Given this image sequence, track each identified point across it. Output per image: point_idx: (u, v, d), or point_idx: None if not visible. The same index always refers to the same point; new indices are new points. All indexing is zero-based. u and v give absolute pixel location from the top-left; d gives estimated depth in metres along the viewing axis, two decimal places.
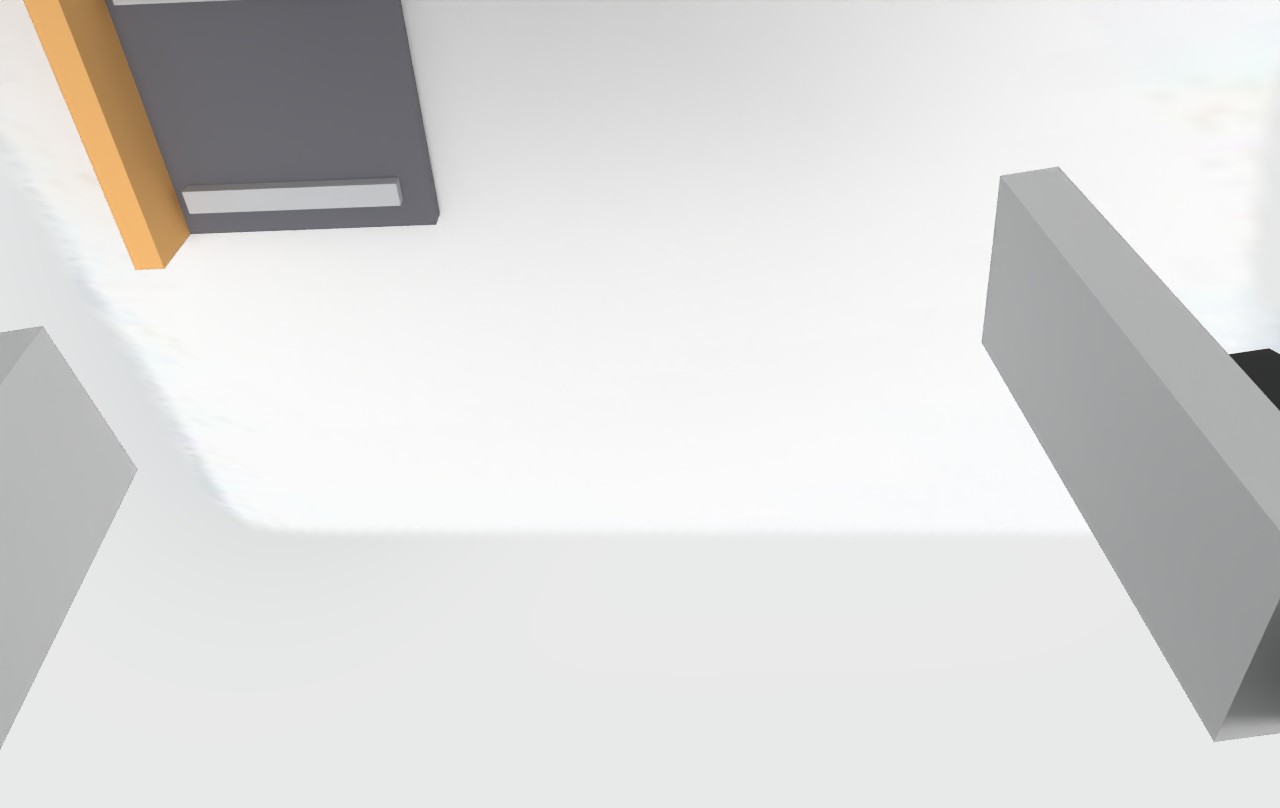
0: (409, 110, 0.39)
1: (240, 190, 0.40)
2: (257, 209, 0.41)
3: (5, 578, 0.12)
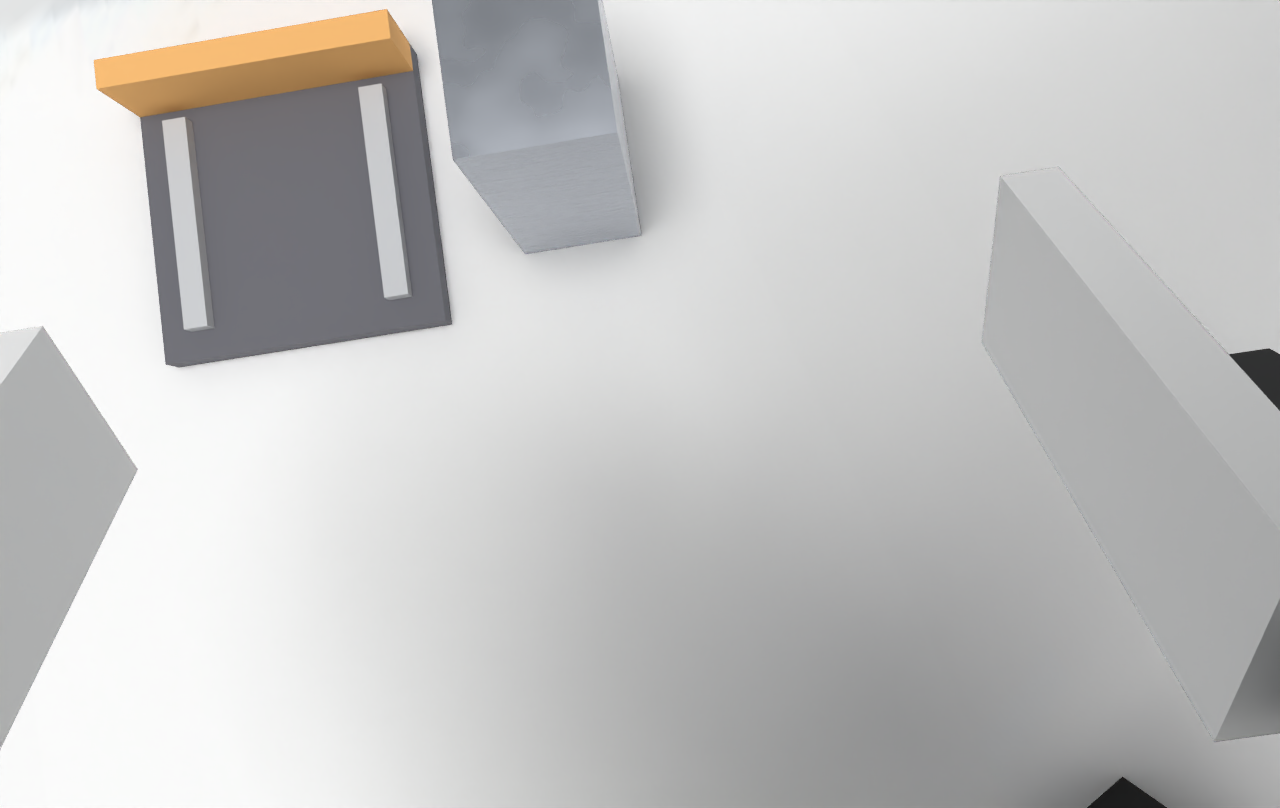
0: (283, 341, 0.40)
1: (190, 173, 0.40)
2: (171, 187, 0.40)
3: (5, 578, 0.12)
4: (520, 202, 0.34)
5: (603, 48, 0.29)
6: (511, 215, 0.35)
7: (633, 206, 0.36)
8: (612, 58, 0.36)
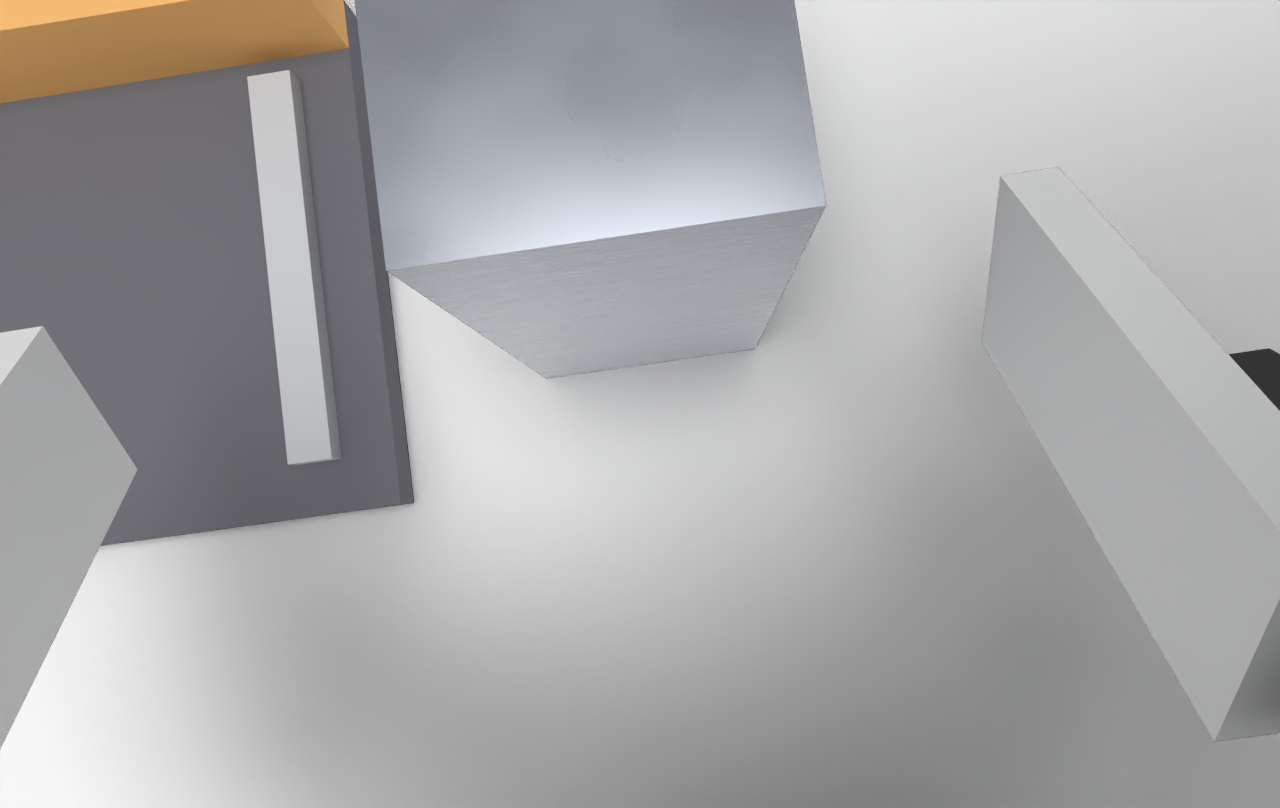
0: (106, 535, 0.22)
1: None
2: None
3: (5, 578, 0.12)
4: (548, 326, 0.16)
5: None
6: (527, 342, 0.17)
7: (767, 319, 0.18)
8: None
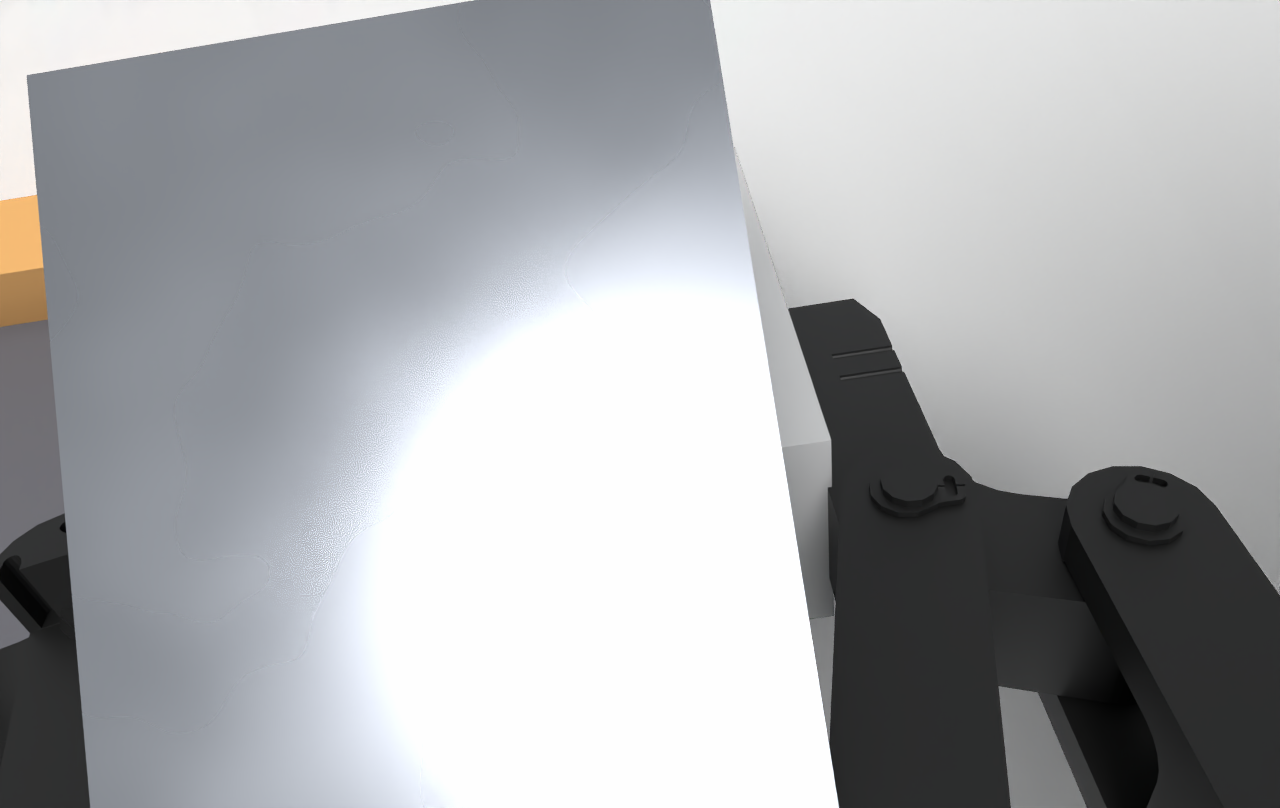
0: None
1: None
2: None
3: None
4: None
5: (796, 579, 0.06)
6: None
7: None
8: None
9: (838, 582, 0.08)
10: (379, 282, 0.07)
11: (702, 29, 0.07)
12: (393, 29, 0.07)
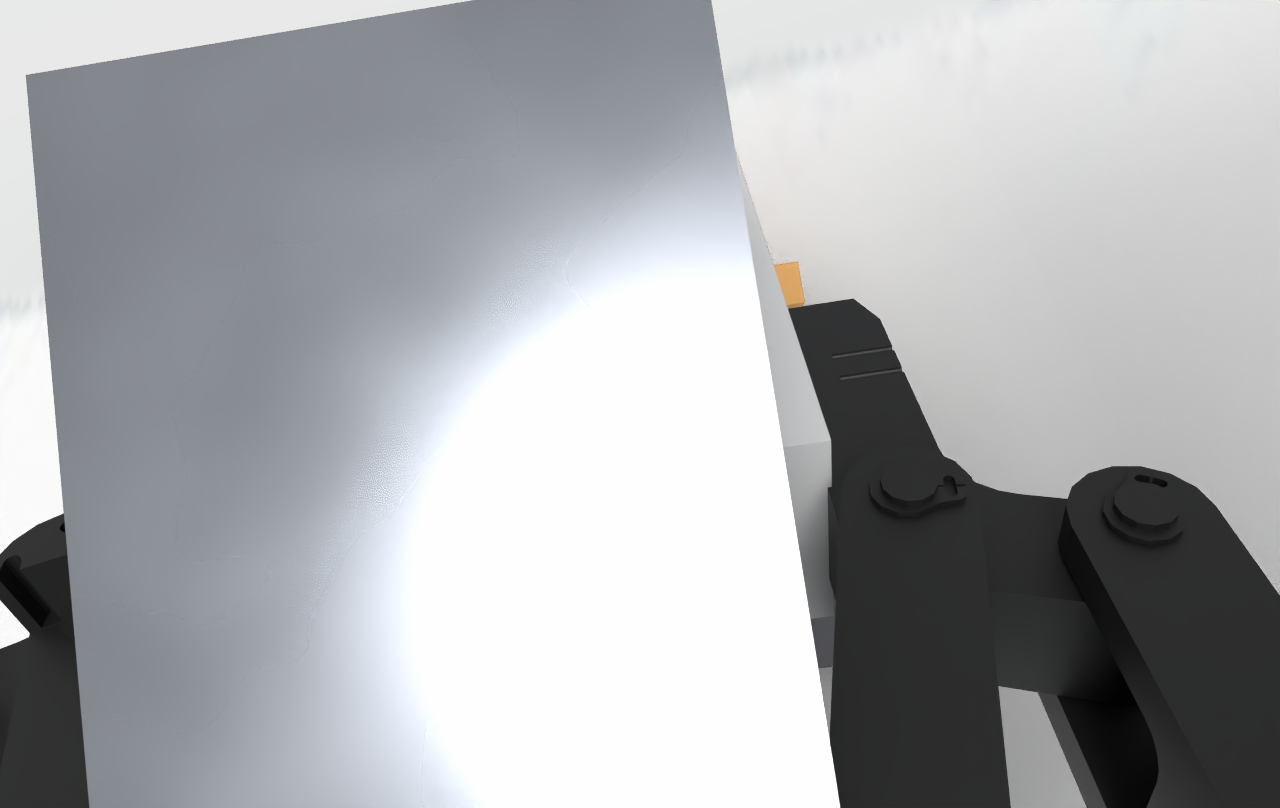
0: None
1: None
2: None
3: None
4: None
5: (797, 580, 0.06)
6: None
7: None
8: None
9: (838, 582, 0.08)
10: (378, 283, 0.07)
11: (704, 29, 0.07)
12: (394, 29, 0.07)
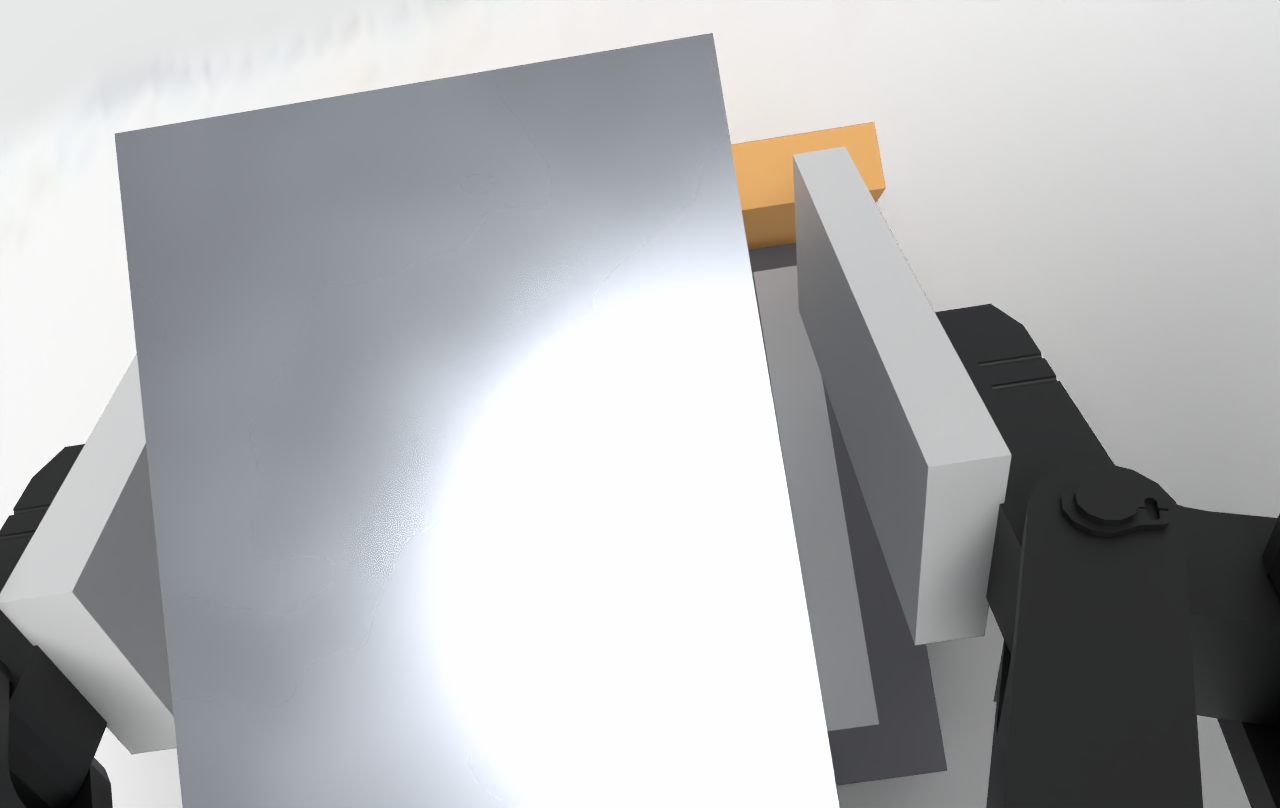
0: None
1: None
2: None
3: None
4: None
5: (796, 575, 0.07)
6: None
7: None
8: None
9: (1022, 595, 0.08)
10: (428, 317, 0.08)
11: (712, 92, 0.08)
12: (439, 92, 0.08)
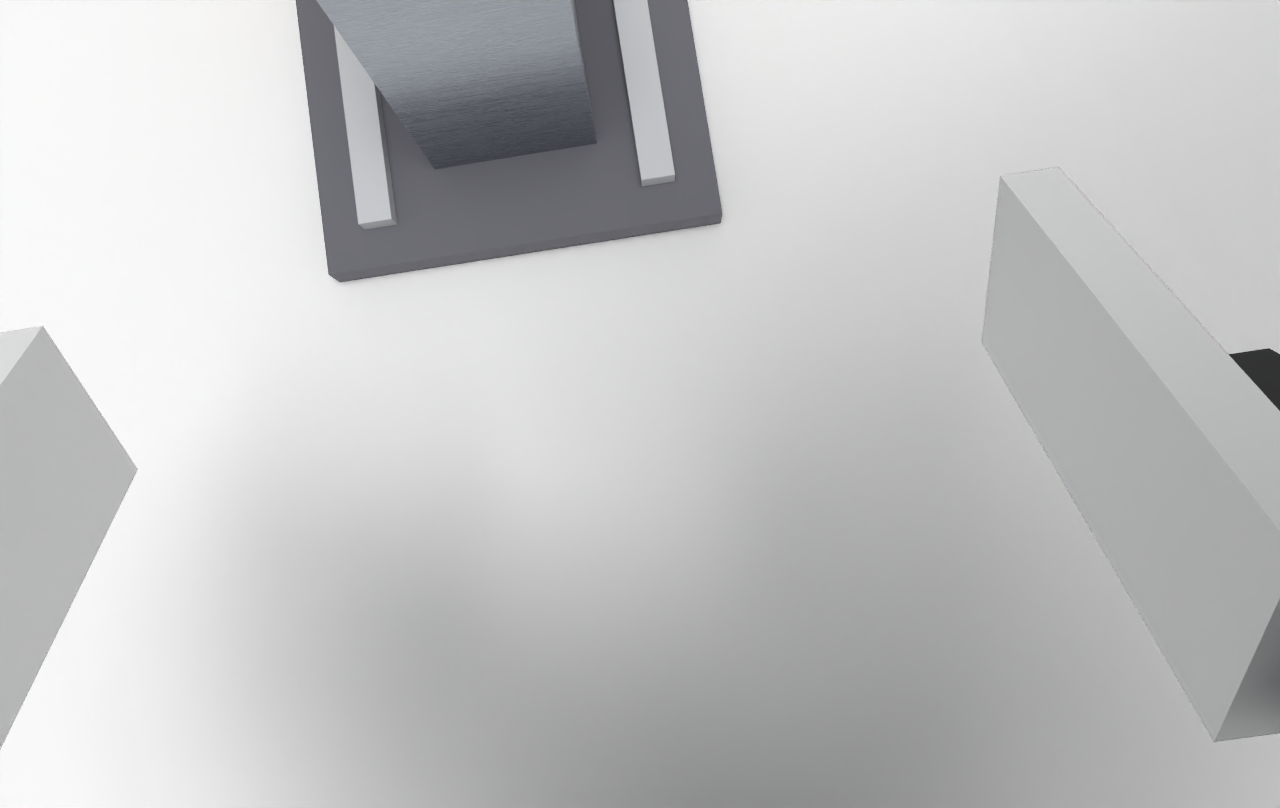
0: (494, 241, 0.29)
1: None
2: None
3: (5, 578, 0.12)
4: (410, 59, 0.22)
5: None
6: (400, 88, 0.24)
7: (583, 82, 0.25)
8: None
9: None
10: None
11: None
12: None
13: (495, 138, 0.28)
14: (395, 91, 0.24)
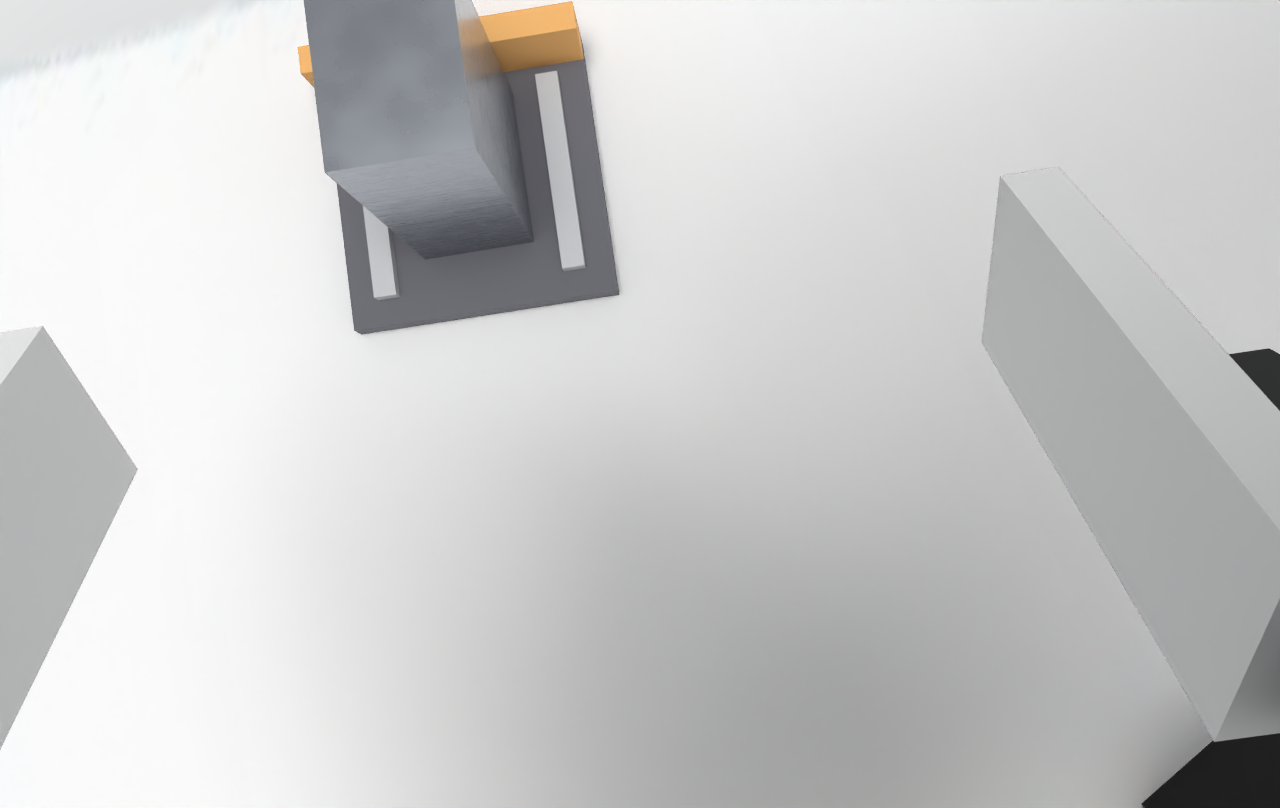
0: (465, 308, 0.43)
1: None
2: None
3: (5, 578, 0.12)
4: (403, 211, 0.36)
5: (462, 71, 0.31)
6: (399, 223, 0.38)
7: (515, 214, 0.39)
8: (497, 77, 0.39)
9: None
10: (377, 13, 0.32)
11: None
12: None
13: (463, 242, 0.42)
14: (395, 225, 0.38)
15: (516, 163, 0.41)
